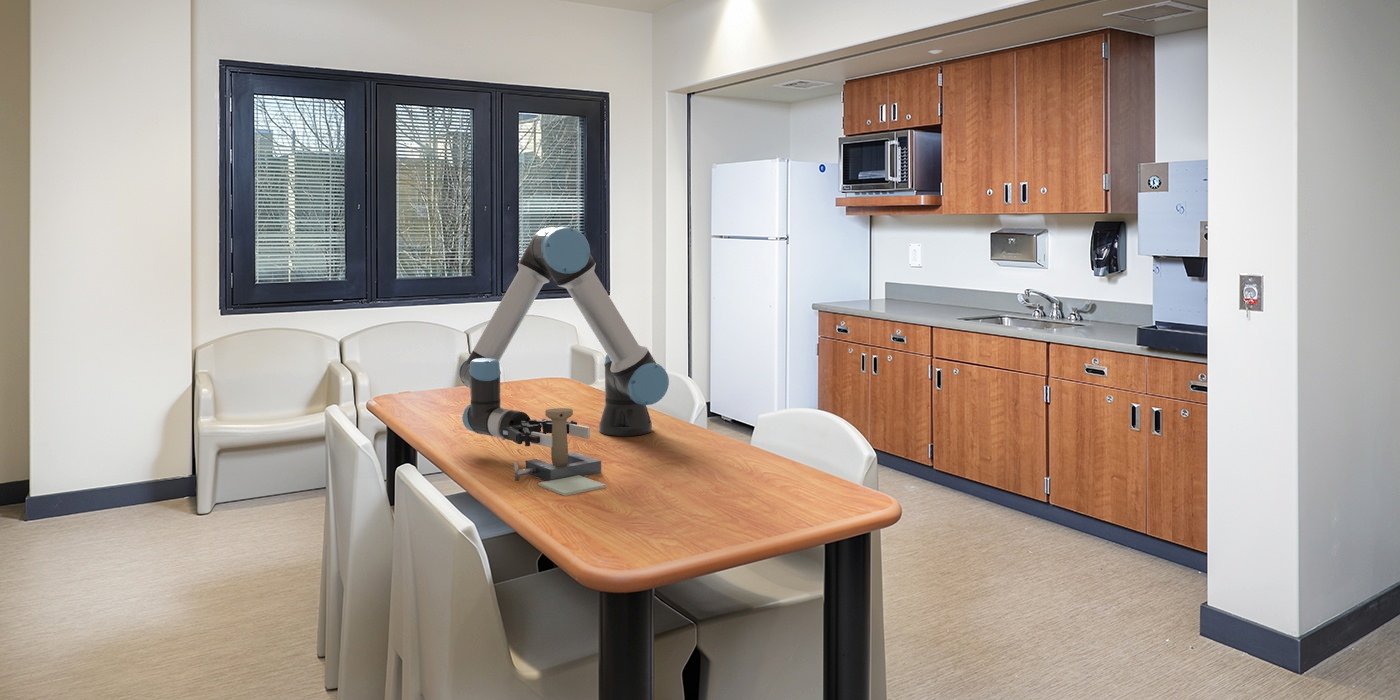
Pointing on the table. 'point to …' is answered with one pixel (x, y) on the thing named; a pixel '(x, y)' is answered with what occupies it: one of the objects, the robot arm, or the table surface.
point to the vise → (560, 468)
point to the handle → (559, 434)
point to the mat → (572, 485)
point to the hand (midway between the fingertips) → (570, 437)
